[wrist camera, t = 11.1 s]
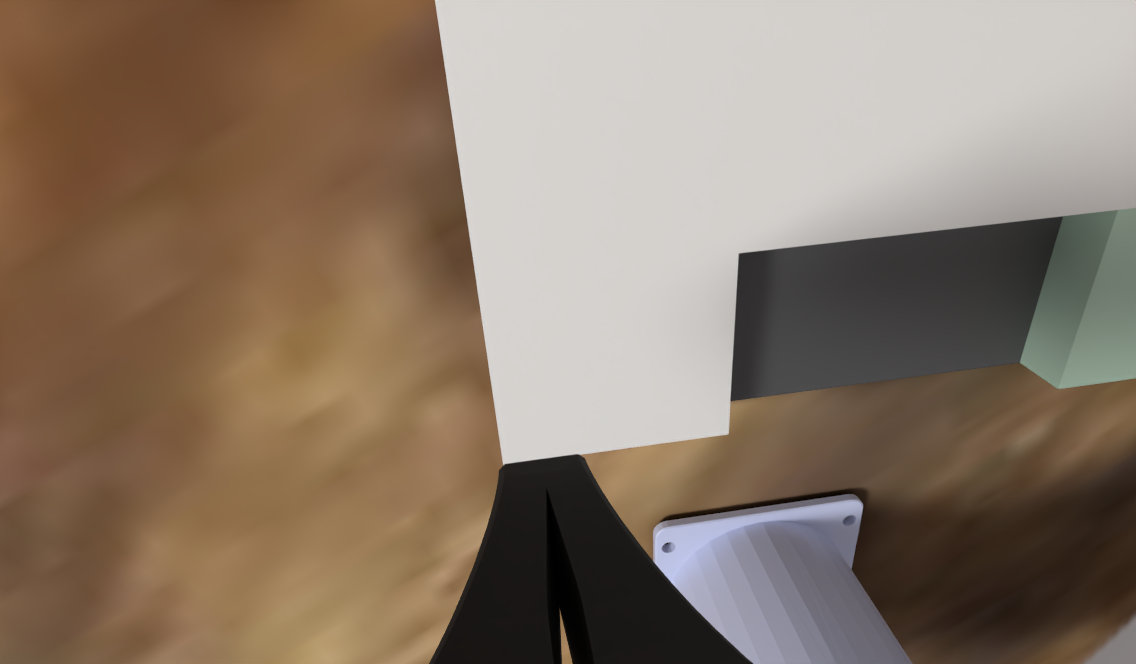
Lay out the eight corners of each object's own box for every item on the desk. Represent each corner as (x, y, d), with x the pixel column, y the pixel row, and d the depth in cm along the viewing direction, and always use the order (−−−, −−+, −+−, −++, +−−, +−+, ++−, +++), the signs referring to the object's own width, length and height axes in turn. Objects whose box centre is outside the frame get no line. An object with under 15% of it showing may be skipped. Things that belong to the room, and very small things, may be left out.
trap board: (1221, 330, 24) (1280, 358, 22) (500, 426, 22) (503, 464, 20) (1588, -480, 14) (1744, -546, 13) (374, -450, 12) (357, -524, 10)
